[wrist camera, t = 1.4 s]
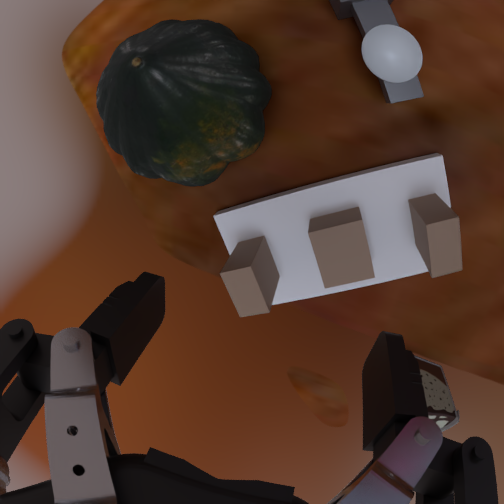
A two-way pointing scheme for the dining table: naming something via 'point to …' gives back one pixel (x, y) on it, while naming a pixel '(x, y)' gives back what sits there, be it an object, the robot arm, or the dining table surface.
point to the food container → (437, 395)
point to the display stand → (341, 235)
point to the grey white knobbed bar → (385, 47)
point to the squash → (183, 101)
